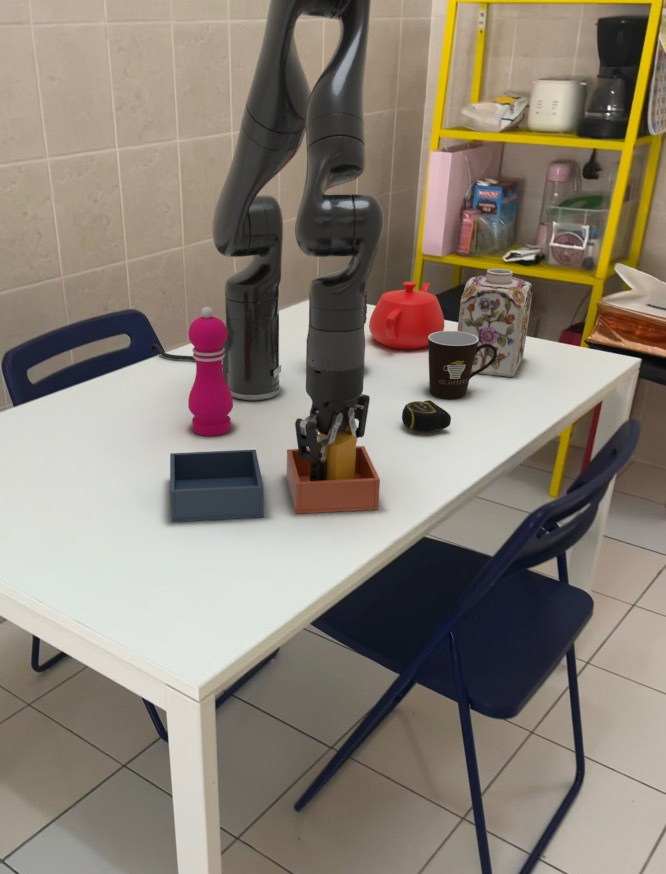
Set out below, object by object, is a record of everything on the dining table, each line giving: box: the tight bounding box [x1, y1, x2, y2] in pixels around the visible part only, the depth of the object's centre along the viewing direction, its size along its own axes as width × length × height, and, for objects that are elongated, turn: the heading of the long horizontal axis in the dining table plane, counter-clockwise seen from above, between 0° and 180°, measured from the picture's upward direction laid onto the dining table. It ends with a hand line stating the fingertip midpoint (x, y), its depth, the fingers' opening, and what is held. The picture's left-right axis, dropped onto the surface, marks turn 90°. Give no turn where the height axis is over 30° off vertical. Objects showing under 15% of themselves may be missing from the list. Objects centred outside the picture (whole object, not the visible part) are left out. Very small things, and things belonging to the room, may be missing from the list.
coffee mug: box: [427, 330, 497, 400], centre depth 154 cm, size 12×9×10 cm
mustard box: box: [318, 432, 357, 480], centre depth 121 cm, size 4×4×8 cm
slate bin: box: [169, 449, 265, 523], centre depth 121 cm, size 12×12×4 cm
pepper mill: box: [187, 306, 234, 437], centre depth 138 cm, size 7×7×20 cm
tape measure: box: [401, 399, 452, 433], centre depth 142 cm, size 7×7×4 cm
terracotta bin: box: [286, 445, 381, 515], centre depth 122 cm, size 11×11×4 cm
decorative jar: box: [456, 268, 534, 378], centre depth 165 cm, size 12×12×18 cm
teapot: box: [368, 281, 446, 350], centre depth 181 cm, size 25×16×12 cm, turn 153°
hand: (331, 476), depth 121 cm, fingers open, 5 cm apart
